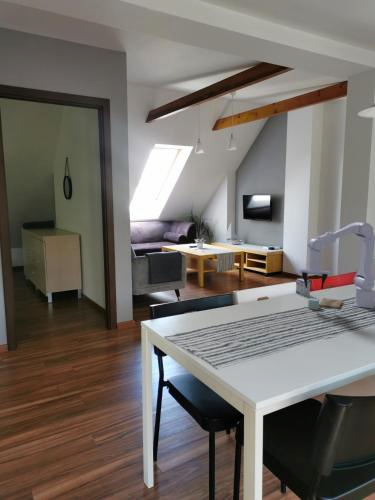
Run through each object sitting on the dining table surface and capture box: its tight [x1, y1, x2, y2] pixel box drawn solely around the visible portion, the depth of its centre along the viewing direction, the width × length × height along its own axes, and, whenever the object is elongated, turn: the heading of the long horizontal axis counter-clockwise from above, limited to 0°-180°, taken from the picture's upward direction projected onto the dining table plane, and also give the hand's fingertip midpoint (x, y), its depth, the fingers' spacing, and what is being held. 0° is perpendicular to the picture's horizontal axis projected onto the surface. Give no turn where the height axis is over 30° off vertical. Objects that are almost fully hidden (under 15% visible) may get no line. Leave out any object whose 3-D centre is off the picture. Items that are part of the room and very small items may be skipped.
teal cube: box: [307, 297, 320, 310], centre depth 195 cm, size 4×4×4 cm
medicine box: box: [295, 278, 311, 297], centre depth 222 cm, size 8×4×9 cm, turn 17°
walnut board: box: [319, 298, 344, 310], centre depth 201 cm, size 10×14×1 cm
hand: (314, 288), depth 194 cm, fingers open, 7 cm apart
